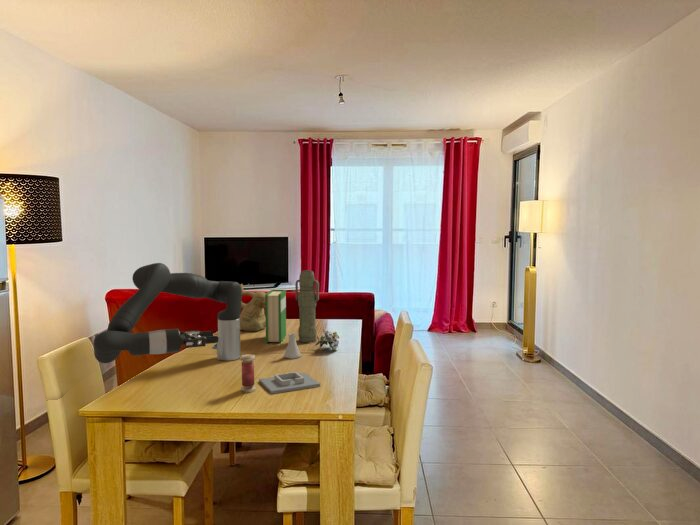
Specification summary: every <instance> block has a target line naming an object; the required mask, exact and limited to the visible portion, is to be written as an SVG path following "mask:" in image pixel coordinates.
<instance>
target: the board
mask: <svg viewBox="0 0 700 525" xmlns="http://www.w3.org/2000/svg"><path fill="white" fill-rule="evenodd" d="M258 382H259V383H260V385H262V386H263V388H265V389H266V390H267V391H268V392H269V393H270V394H271V395H274V394H280V393H287V392H292V391H299V390H306V389H312V388H319V387H321V382H319V381H318V380H316V379H315V378H313V377H312V376H310V375H309V374H307V373H306V372H298V371H292V372H286V373H277V374H274V376H271V377H263V378H258Z"/></svg>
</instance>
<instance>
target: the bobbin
mask: <svg viewBox="0 0 700 525" xmlns="http://www.w3.org/2000/svg"><path fill="white" fill-rule="evenodd" d="M239 359H240V361H241V387H240V391H241V393H245V394H246V393H248V394H249V393H253V392H256V390H257V389H256V388H257V387H256V386H255V360H256V355H255V354H242V355H241V356H240V358H239Z"/></svg>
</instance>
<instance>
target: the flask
mask: <svg viewBox="0 0 700 525" xmlns="http://www.w3.org/2000/svg"><path fill="white" fill-rule="evenodd" d="M296 336H297V334H296V333H289V334H288V344H287V346H286V349H285V352H284V354H283V357H284V358H285V359H299V358H301V357H302V354H301V351H300V349H299V347H298V344H297V340H296Z"/></svg>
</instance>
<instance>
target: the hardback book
mask: <svg viewBox="0 0 700 525" xmlns="http://www.w3.org/2000/svg"><path fill="white" fill-rule="evenodd" d="M286 290H287V289H271V290H269V291H267V292H266V294H265V308H264V314H265V317H266V327H265V344H269V343H278V344H282V343H283V342H284V340H285V338H286V337H285V336H287V298H286V297H287V296H286V295H287V291H286ZM283 339H284V340H283ZM268 342H269V343H268ZM281 342H282V343H281Z"/></svg>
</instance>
